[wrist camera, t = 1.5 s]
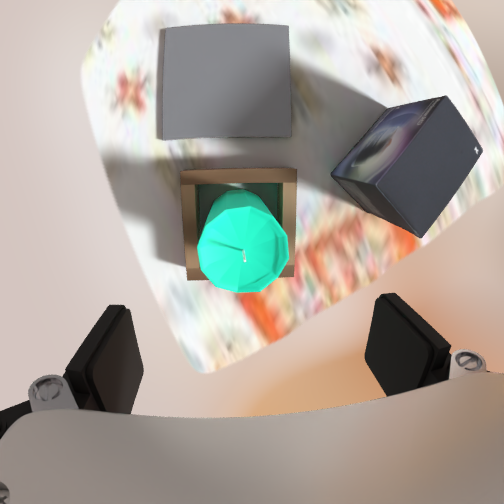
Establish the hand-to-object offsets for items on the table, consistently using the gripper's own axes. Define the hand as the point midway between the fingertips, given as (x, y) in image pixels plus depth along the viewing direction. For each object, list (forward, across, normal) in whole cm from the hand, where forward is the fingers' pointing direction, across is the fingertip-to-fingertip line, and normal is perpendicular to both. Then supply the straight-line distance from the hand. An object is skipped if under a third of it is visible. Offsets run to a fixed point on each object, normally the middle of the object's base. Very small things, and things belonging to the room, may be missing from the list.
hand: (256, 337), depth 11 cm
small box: (+20, -15, -7) cm, 26 cm away
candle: (+20, 0, 0) cm, 20 cm away
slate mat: (+20, +1, -14) cm, 24 cm away
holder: (+20, 0, 0) cm, 20 cm away
